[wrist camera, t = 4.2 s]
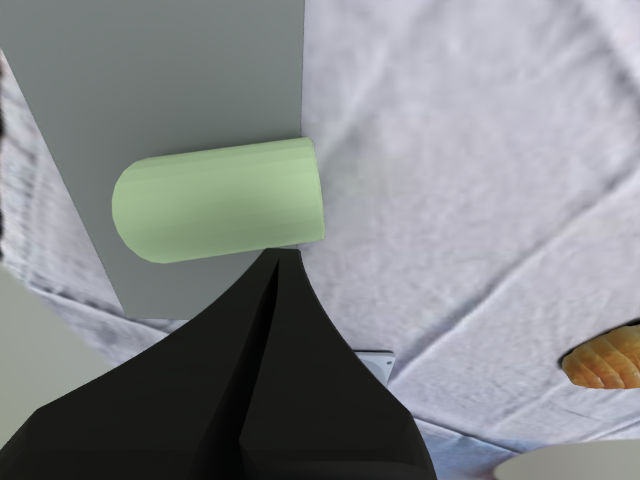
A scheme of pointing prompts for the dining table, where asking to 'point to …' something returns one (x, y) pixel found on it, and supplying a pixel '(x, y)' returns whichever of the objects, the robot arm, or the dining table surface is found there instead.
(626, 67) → the dining table surface
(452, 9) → the dining table surface
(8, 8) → the mat
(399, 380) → the dining table surface
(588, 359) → the pastry
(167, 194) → the candle
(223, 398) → the robot arm
